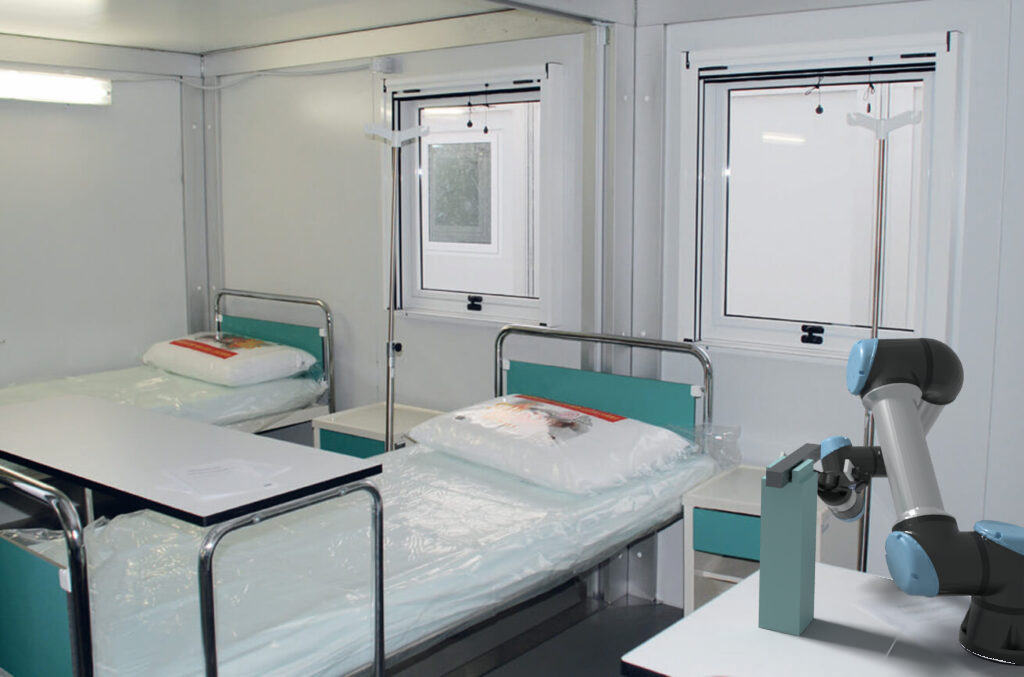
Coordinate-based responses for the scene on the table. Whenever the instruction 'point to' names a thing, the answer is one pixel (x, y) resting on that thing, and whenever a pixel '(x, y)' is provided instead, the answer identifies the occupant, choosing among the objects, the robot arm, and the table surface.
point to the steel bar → (791, 465)
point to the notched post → (788, 551)
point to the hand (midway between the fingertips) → (813, 461)
